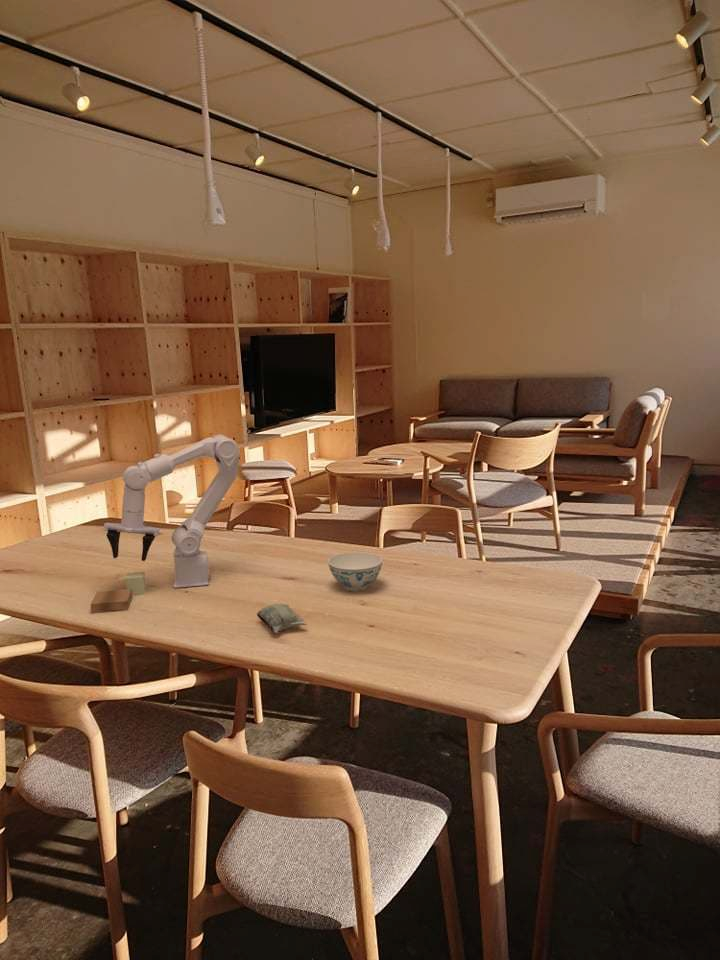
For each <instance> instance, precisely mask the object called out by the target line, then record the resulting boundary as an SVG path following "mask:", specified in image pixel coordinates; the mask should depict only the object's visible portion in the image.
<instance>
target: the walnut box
mask: <svg viewBox="0 0 720 960" xmlns="http://www.w3.org/2000/svg"><path fill="white" fill-rule="evenodd" d="M133 596H134V595H132V589H115V590H113V589H112V590H104V591H103V590H102V591H101V590H100V591H96V593H95V595H94V596H93V599H92V601H91V602H90V612H91V614H102V613H103V614H105V613H115V612H125V611H126V612H127V611H129V610H130V606H131V603H132V600H133Z"/></svg>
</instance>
